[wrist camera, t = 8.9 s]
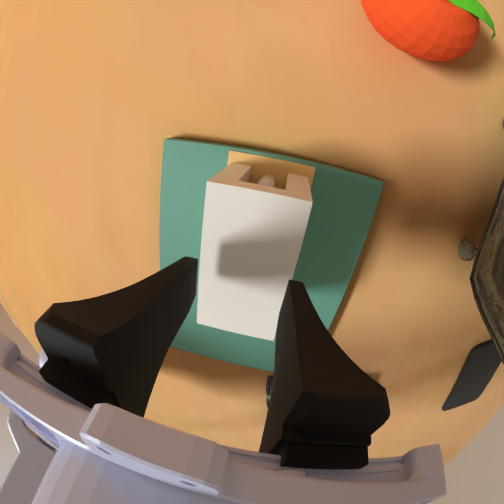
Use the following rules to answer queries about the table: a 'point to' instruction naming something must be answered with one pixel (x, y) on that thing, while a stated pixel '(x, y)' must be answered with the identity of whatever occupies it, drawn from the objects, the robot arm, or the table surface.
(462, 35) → the clementine
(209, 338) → the pin board
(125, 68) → the table surface
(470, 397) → the phone
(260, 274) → the block
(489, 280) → the tabletop clock
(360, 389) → the robot arm
